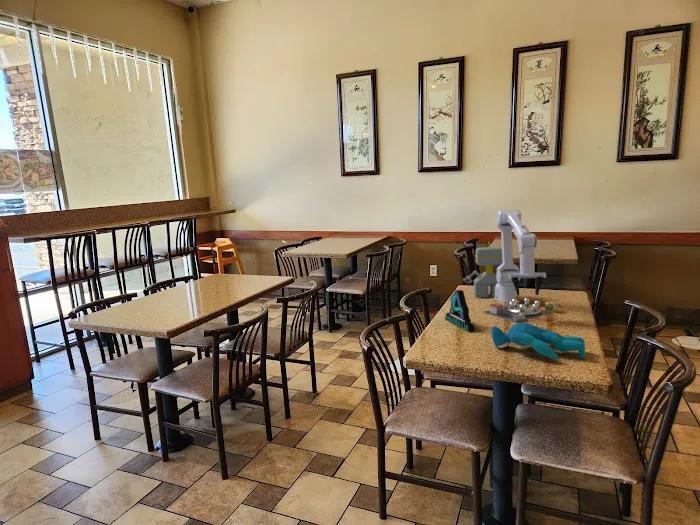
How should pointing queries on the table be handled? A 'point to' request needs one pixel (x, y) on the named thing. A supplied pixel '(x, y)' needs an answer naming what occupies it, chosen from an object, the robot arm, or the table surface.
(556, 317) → the table surface
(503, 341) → the toy
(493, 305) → the red-ended rectangular metal block
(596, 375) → the table surface
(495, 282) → the toy
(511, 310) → the pinned metal disc
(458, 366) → the table surface
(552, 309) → the link block
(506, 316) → the base plate
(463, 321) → the decorative sign
